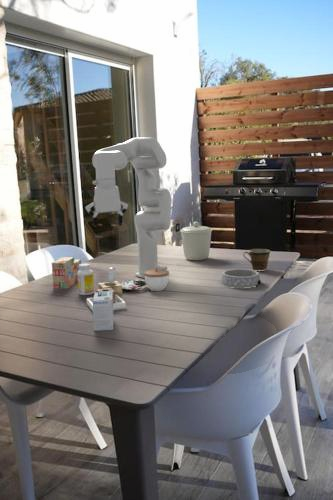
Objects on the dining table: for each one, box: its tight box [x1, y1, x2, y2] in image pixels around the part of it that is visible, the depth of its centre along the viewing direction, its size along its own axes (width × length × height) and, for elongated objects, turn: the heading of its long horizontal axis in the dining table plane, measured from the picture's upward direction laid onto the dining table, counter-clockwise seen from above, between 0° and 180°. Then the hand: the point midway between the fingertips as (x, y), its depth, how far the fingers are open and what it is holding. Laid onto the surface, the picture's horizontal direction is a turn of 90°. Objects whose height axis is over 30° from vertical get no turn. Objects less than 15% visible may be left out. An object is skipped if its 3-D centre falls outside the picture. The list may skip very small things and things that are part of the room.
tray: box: [85, 295, 127, 313], centre depth 199 cm, size 13×13×2 cm
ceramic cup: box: [243, 248, 271, 270], centre depth 252 cm, size 13×10×10 cm
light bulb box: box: [92, 292, 115, 332], centre depth 176 cm, size 11×7×11 cm, turn 5°
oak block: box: [97, 280, 123, 300], centre depth 212 cm, size 8×8×6 cm
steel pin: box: [107, 266, 116, 286], centre depth 210 cm, size 3×3×12 cm
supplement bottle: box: [77, 263, 95, 296], centre depth 218 cm, size 7×7×13 cm
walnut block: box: [95, 288, 115, 303], centre depth 199 cm, size 6×6×6 cm
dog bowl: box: [220, 268, 262, 289], centre depth 228 cm, size 17×18×5 cm
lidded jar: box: [144, 268, 170, 292], centre depth 223 cm, size 11×11×9 cm
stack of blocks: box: [51, 256, 82, 290], centre depth 239 cm, size 21×6×12 cm, turn 170°
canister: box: [179, 221, 213, 261], centre depth 284 cm, size 18×18×21 cm
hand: (108, 226), depth 205 cm, fingers open, 9 cm apart
